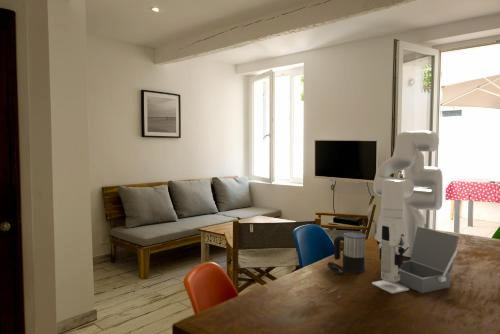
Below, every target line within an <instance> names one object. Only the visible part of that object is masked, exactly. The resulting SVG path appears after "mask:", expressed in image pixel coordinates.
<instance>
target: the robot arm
mask: <svg viewBox="0 0 500 334" xmlns="http://www.w3.org/2000/svg"><path fill="white" fill-rule="evenodd" d="M439 144H440V139H439V134H438V133H437V132H435V131H432V130H406V131H402V132H400V133H398V134H396V137H395V144H394V148H393V152H392V153H393V154H392V156H391V157H389V158H388V159H386V160H385V161H384V162H383V163H381V164H380V165H379V166H378V167H377V170H376V172H375V176H374V180H373V183H372V185H373V186H372V187H373V188H372V189H373V192H374V194H375V195H377V196H379V197H381V201H380V202H381V205H380V215H379V216H378V220H377V226H376V227H377V228H376V234H374V239H375V241H376V243H377V245H378V249H379V260H381V245H382V226H386V227H389V235H390V237H389V245H390V246H392V247H395V251H396V254H395V265H402V264H403V261H404V260H403V259H404V258H403V257H405V258H411V254H412V249H413V245H414V240H415V236H416V231H417V227H421V228H425V216H424V215H423V213H422V212H421V211H420V210H423V211H424V210H425V211H439V210H440V209H441V208H442V205H443V173H442V170H441V169H440V168H439V167H436V166H425V155H424V153H423V152H435V151H436V150H437V149H438V148H439ZM401 171H404V172H403V173H404V174H403V175H404V176H403V177H395V176H390V175H392V174H395V173H398V172H401ZM425 188H426V189H425ZM428 188H429V189H428ZM399 244H400V245H399ZM398 247H400V250H399V248H398Z"/></svg>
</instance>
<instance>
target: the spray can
mask: <svg viewBox="0 0 500 334" xmlns="http://www.w3.org/2000/svg"><path fill="white" fill-rule="evenodd" d="M389 237H390V235H389V227H386V226H382V245H381V259H380V278H381V279H382V280H384V281H388V282H395V283H397V282H398V281H400V265H395V254H396V251H395V247H392V246H390V245H389ZM399 245H400V244H399ZM398 248H399V250H400V247H398ZM382 280H381V281H382Z"/></svg>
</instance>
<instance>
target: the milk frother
mask: <svg viewBox="0 0 500 334" xmlns="http://www.w3.org/2000/svg"><path fill="white" fill-rule="evenodd" d="M366 238H367V235H366V234H365V233H360V232H356V231H355V232H352V231H350V232H344V233H343V234H340V235H338V236H336V237H334V240H333V256H334V257H333V258H334V260H336V261H338V260H340V259H341V255H342V265H340V264H338V263H335V262H333V261H332V262H331V261H329V262H328V263H327V268H328V269H329V270H330V271H331V272H333V273H335V275H343V274H345V271H346V272H348V273H349V272H350V273H357V274H358V273H363V272H365V271H366V269H365V267H366V265H365V264H366V263H365V261H366V260H365V259H366V258H365V257H366ZM341 241H343V245H342V247H343V248H342V254H341Z"/></svg>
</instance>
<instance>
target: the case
mask: <svg viewBox="0 0 500 334" xmlns="http://www.w3.org/2000/svg"><path fill="white" fill-rule="evenodd" d="M459 238H460V237H459V236H457V235H454V234H450V233H446V232H442V231H439V230H438V231H437V230H432V229H429V228H425V227H424V228H421V227H417V231H416V236H415V240H414V245H413V249H412V254H411V257H409V258H410V259H409V260H403V264H402V265H400V281H398V282H396V283H398V284H400V285H402V286H404V287H407V288H409V289H411V290H414V291H416V292H417V293H420V294H425V293H430V292H434V291H435V292H436V291H438V290H445V289H449V288H450V287H451V286H450V285H451V276H452V270H453V266H454V261H455V258H456V255H457V253H458V250H457V248H458V243H459Z"/></svg>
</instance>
